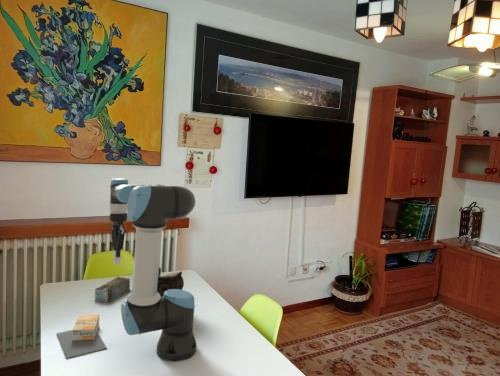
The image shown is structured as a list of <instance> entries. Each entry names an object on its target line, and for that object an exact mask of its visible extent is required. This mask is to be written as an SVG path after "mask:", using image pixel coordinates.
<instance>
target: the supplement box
mask: <svg viewBox="0 0 500 376" xmlns="http://www.w3.org/2000/svg"><path fill="white" fill-rule="evenodd" d="M99 327H100V314H79V315H78V317H77V319H76V321H75V323H74V326H73V328H72V329H71V330H72V341H81V340H94V339H95V336H96V333H97V332H98V329H99Z"/></svg>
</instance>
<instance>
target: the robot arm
mask: <svg viewBox="0 0 500 376" xmlns="http://www.w3.org/2000/svg"><path fill="white" fill-rule="evenodd" d="M109 187H110V192H109V193H110V195H109V198H110V201H109V212H110V213H109V221H110V222H112V225H110V230H111V247H113V262H112V263H113V265H119V264H121V257H122V256H121V252H122V250H123V249H124V242H125V235H126V231H127V230H126V229H125V226H124V222H125V223H126V222H127V221H128V220H129V221H131V224H132V226H133V227H134V228H135V244H134V245H135V246H134V256H133V257H134V258H133V273H132V285H131V286H132V287H131V292H130V293H129V294H127V297H126V301H124V302H122V303H121V304H120V305H121V306H120V313H121V319H122V324H123V327H124V330H125V332H126V334H127V335H129V336H135V335H141V334H145V333H151V332H156V331H161V333H160V336H159V339H158V340H157V343H156V354H157V356H158V357H159V358H161V359H163V360H166V361H168V362H169V361H171V362H180V361H181V362H182V361H185V360H188V359H190V358H192V357H193V356H195V355H196V352H197V346H198V345H197V340H196V338H195V334H194V317H195V307H196V306H195V305H196V304H195V297H194V295H193V294H192V293H191V292H190V291H188V290H187V291H186V290H184V289H182V290H180V289H169V290H167V291H165V292H164V294H163V295H164V296H163V297H161V296H160V294H159V293H158V292H157V283H158V271H159V268H160V257H161V256H160V255H161V243H162V234H163V233H162V230H164V229H165V228H167V226H168V225H167V223H168V220H178V219H181V218H185V217H187V216H188V215H190V213H192V211H194V208H195V207H196V206H195V205H196V197H195V194H194V193H193V192H192V190H190V189H189V188H187V187H184V186H178V185H173V186H172V185H165V184H129V180H128V179H127V178H112V179H110V186H109Z"/></svg>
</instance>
